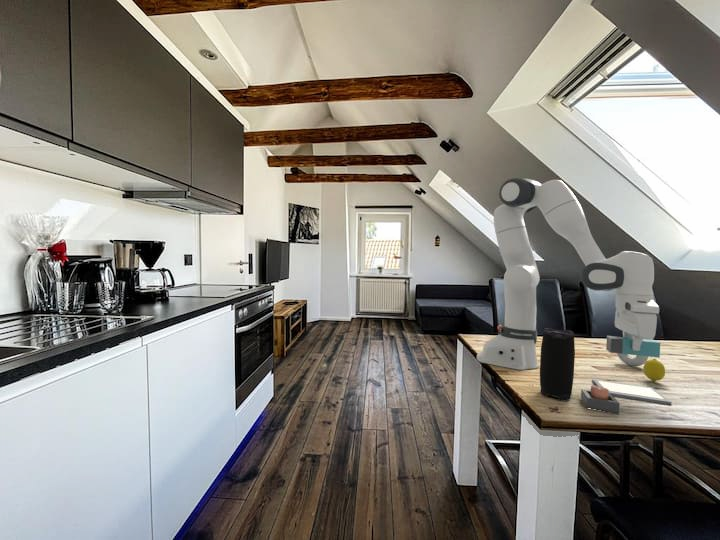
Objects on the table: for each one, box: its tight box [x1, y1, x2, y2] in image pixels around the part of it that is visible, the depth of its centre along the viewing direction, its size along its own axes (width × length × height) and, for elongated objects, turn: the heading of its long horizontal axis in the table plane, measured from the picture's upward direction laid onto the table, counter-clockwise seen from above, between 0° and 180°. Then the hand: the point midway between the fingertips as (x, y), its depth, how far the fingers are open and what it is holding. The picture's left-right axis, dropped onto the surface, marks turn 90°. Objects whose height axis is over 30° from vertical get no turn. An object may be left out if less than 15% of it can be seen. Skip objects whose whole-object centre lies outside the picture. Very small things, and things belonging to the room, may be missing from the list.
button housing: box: [580, 388, 621, 415], centre depth 89 cm, size 7×7×3 cm
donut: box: [616, 353, 649, 367], centre depth 128 cm, size 10×4×10 cm, turn 28°
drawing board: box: [591, 378, 673, 406], centre depth 100 cm, size 16×12×1 cm
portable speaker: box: [539, 327, 576, 401], centre depth 95 cm, size 9×9×20 cm
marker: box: [605, 335, 661, 359], centre depth 100 cm, size 12×4×4 cm, turn 68°
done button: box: [590, 385, 609, 400], centre depth 89 cm, size 4×4×3 cm
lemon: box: [642, 358, 666, 383], centre depth 110 cm, size 6×6×8 cm
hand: (631, 348), depth 100 cm, fingers closed on marker, 4 cm apart
